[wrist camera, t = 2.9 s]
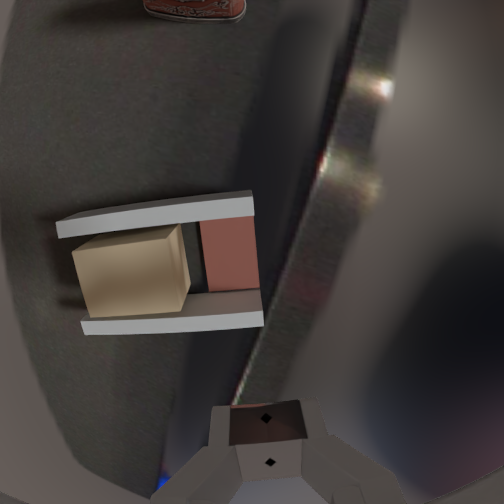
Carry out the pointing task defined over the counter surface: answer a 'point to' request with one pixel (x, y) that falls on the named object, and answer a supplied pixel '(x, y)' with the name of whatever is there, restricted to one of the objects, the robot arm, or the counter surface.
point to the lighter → (198, 10)
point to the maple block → (133, 271)
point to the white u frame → (195, 305)
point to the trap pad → (230, 253)
